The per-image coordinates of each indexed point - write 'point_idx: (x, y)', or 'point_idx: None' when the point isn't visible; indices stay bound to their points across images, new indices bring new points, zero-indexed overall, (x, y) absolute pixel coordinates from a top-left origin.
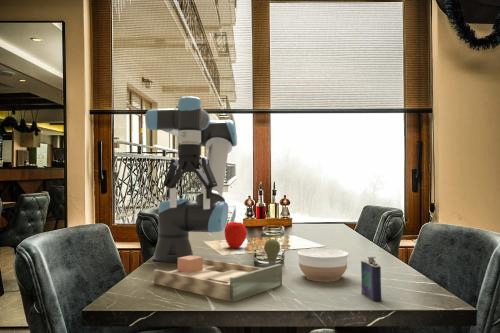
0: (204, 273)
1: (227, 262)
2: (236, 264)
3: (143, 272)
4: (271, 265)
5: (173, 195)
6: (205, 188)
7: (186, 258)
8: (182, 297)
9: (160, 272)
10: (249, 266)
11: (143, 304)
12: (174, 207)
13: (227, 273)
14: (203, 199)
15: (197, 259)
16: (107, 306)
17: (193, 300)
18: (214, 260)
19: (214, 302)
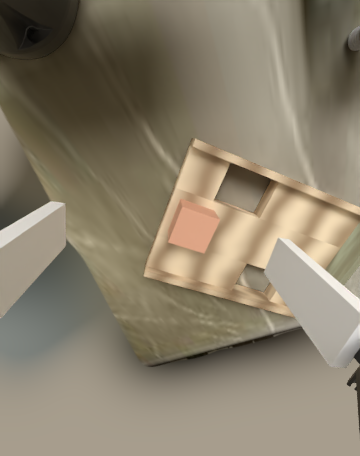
0: (227, 235)
1: (263, 167)
2: (287, 183)
3: (69, 196)
4: (356, 49)
5: (23, 270)
6: (353, 382)
7: (190, 242)
8: (222, 307)
9: (160, 279)
10: (318, 194)
11: (190, 339)
12: (65, 221)
13: (270, 222)
14: (288, 306)
15: (212, 232)
16: (155, 354)
17: (241, 312)
18: (225, 152)
19: (268, 311)
